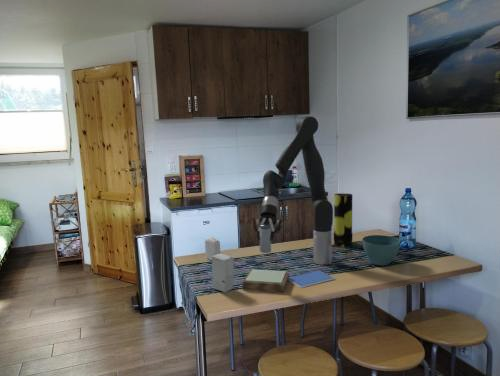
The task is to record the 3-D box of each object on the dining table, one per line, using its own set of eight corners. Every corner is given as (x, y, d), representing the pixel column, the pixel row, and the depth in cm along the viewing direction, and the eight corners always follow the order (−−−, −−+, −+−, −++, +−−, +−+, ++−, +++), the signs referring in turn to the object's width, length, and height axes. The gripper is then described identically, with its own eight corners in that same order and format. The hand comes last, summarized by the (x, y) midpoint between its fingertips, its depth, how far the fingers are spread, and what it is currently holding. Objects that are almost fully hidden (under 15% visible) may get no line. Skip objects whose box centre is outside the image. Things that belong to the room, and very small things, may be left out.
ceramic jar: (272, 249, 184) (271, 223, 182) (270, 253, 179) (269, 226, 178) (261, 249, 185) (260, 223, 184) (258, 252, 181) (258, 226, 179)
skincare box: (211, 288, 182) (210, 256, 179) (221, 284, 186) (219, 252, 184) (225, 292, 176) (224, 259, 174) (234, 288, 181) (233, 256, 179)
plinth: (288, 278, 190) (288, 270, 190) (283, 292, 175) (283, 283, 174) (251, 276, 195) (250, 268, 194) (242, 289, 179) (242, 280, 179)
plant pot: (405, 262, 209) (406, 238, 207) (389, 271, 196) (390, 247, 194) (372, 255, 221) (372, 233, 219) (355, 264, 208) (355, 240, 206)
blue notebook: (300, 289, 179) (300, 286, 179) (285, 280, 190) (285, 277, 190) (335, 280, 188) (335, 278, 188) (318, 272, 199) (318, 269, 199)
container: (355, 244, 242) (356, 194, 237) (346, 248, 234) (347, 196, 229) (339, 241, 249) (339, 192, 245) (330, 245, 241) (330, 195, 237)
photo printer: (204, 258, 223) (203, 236, 221) (211, 256, 226) (210, 235, 224) (215, 262, 215) (214, 240, 214) (221, 261, 218) (221, 238, 216)
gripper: (253, 203, 189) (247, 235, 180) (284, 204, 186) (280, 236, 176) (255, 212, 195) (250, 243, 185) (285, 212, 192) (282, 245, 182)
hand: (265, 240), depth 181 cm, fingers closed on ceramic jar, 5 cm apart
